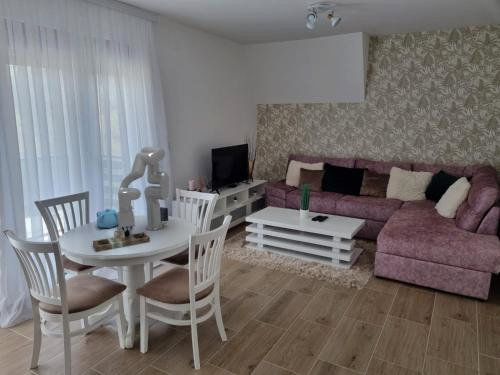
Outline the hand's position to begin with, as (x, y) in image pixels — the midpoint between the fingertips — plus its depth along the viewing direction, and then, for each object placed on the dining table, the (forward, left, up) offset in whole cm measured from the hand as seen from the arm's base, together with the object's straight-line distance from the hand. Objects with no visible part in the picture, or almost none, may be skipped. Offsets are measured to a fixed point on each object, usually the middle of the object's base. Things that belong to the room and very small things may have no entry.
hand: (127, 236), depth 234 cm
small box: (-35, -37, -5) cm, 51 cm away
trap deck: (+4, 0, -4) cm, 6 cm away
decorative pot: (+3, -44, -5) cm, 44 cm away
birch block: (+5, 0, -1) cm, 5 cm away
